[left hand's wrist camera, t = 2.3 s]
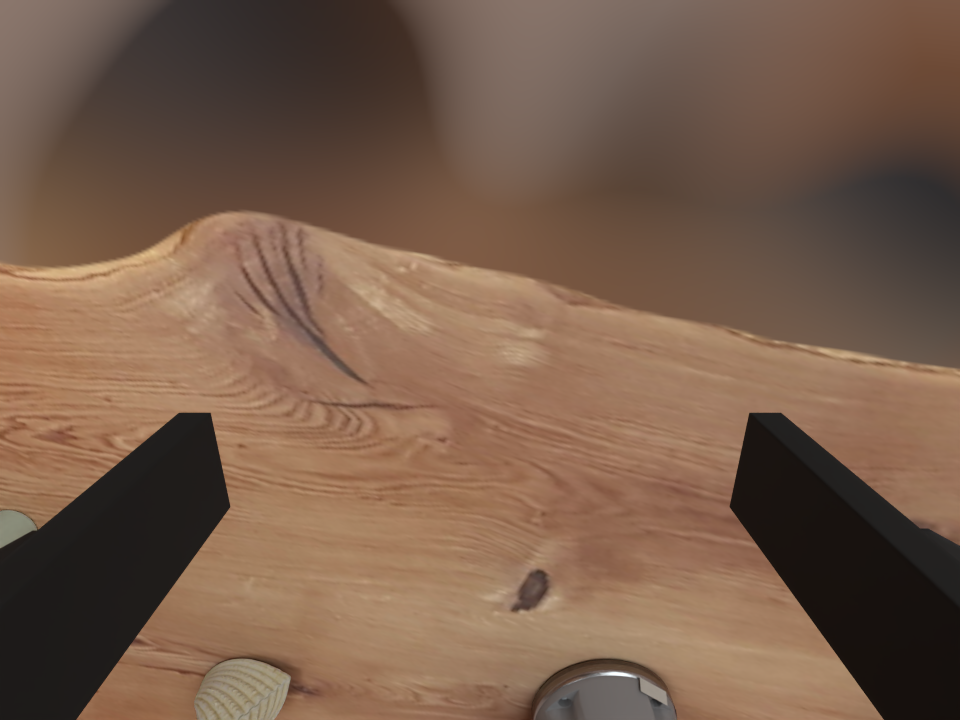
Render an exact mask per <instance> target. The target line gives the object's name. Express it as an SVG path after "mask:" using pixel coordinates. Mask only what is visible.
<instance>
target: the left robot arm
mask: <svg viewBox="0 0 960 720" xmlns="http://www.w3.org/2000/svg"><path fill="white" fill-rule="evenodd" d="M229 508H230V503H229V498H228V493H227V488H226V484H225V479H224V474H223V470H222V465H221V460H220V455H219V451H218V446H217V441H216V436H215V432H214V427H213V422H212V417H211V413H178V414H177V415H176V416H175V417H174V418H172V419H171V420H170V421H169V422H168V423H166V424H165V425H164V426H163V427H162V428H160V429H159V430H158V431H157V432H155V433H154V434H153V435H152V436H151V437H149V438H148V439H147V440H146V441H145V442H143V443H142V444H141V445H140V446H139V447H137V448H136V449H135V450H134V451H133V452H131V453H130V454H129V455H128V456H127V457H125V458H124V459H123V460H122V461H121V462H119V463H118V464H117V465H116V466H115V467H113V468H112V469H111V470H110V471H109V472H107V473H106V474H105V475H104V476H103V477H101V478H100V479H99V480H98V481H97V482H95V483H94V484H93V485H92V486H91V487H89V488H88V489H87V490H86V491H85V492H83V493H82V494H81V495H80V496H79V497H77V498H76V499H75V500H74V501H73V502H71V503H70V504H69V505H68V506H67V507H65V508H64V509H63V510H62V511H61V512H59V513H58V514H57V515H56V516H54V517H53V518H52V519H51V520H50V521H48V522H47V523H46V524H45V525H44V526H42V527H41V528H40V529H39V530H32V531H31V532H29V533H27V534H25V535H23V536H22V537H20V538H18V539H16V540H14V541H13V542H11V543H9V544H7V545H5V546H3V547H2V548H0V720H76V719H77V718H78V716H79V715H80V713H81V712H82V711H83V709H84V708H85V707H86V705H87V704H88V702H89V701H90V700H91V698H92V697H93V696H94V694H95V693H96V691H97V690H98V689H99V687H100V686H101V685H102V683H103V682H104V680H105V679H106V678H107V676H108V675H109V674H110V672H111V671H112V669H113V668H114V667H115V665H116V664H117V662H118V661H119V660H120V658H121V657H122V656H123V654H124V653H125V651H126V650H127V649H128V647H129V646H130V645H131V643H132V642H133V640H134V639H135V638H136V636H137V635H138V634H139V632H140V631H141V629H142V628H143V627H144V625H145V624H146V622H147V621H148V620H149V618H150V617H151V616H152V614H153V613H154V611H155V610H156V609H157V607H158V606H159V605H160V603H161V602H162V600H163V599H164V598H165V596H166V595H167V594H168V592H169V591H170V589H171V588H172V587H173V585H174V584H175V582H176V581H177V580H178V578H179V577H180V576H181V574H182V573H183V571H184V570H185V569H186V567H187V566H188V565H189V563H190V562H191V560H192V559H193V558H194V556H195V555H196V554H197V552H198V551H199V549H200V548H201V547H202V545H203V544H204V543H205V541H206V540H207V538H208V537H209V536H210V534H211V533H212V531H213V530H214V529H215V527H216V526H217V525H218V523H219V522H220V520H221V519H222V518H223V516H224V515H225V514H226V512H227V511H228V509H229ZM730 508H731V509H732V511H733V512H734V514H735V515H736V516H737V518H738V519H739V520H740V522H741V523H742V525H743V526H744V527H745V529H746V530H747V531H748V533H749V534H750V536H751V537H752V538H753V540H754V541H755V543H756V544H757V545H758V547H759V548H760V549H761V551H762V552H763V554H764V555H765V556H766V558H767V559H768V560H769V562H770V563H771V565H772V566H773V567H774V569H775V570H776V571H777V573H778V574H779V576H780V577H781V578H782V580H783V581H784V582H785V584H786V585H787V587H788V588H789V589H790V591H791V592H792V594H793V595H794V596H795V598H796V599H797V600H798V602H799V603H800V605H801V606H802V607H803V609H804V610H805V611H806V613H807V614H808V616H809V617H810V618H811V620H812V621H813V622H814V624H815V625H816V627H817V628H818V629H819V631H820V632H821V634H822V635H823V636H824V638H825V639H826V640H827V642H828V643H829V645H830V646H831V647H832V649H833V650H834V651H835V653H836V654H837V656H838V657H839V658H840V660H841V661H842V662H843V664H844V665H845V667H846V668H847V669H848V671H849V672H850V674H851V675H852V676H853V678H854V679H855V680H856V682H857V683H858V685H859V686H860V687H861V689H862V690H863V691H864V693H865V694H866V696H867V697H868V698H869V700H870V701H871V702H872V704H873V705H874V707H875V708H876V709H877V711H878V712H879V713H880V715H881V716H882V718H883V719H884V720H960V546H959V545H957V544H955V543H953V542H952V541H950V540H948V539H946V538H944V537H942V536H941V535H939V534H937V533H935V532H933V531H931V530H930V529H920V528H919V527H918V526H916V525H915V524H914V523H913V522H912V521H910V520H909V519H908V518H907V517H906V516H904V515H903V514H902V513H901V512H899V511H898V510H897V509H896V508H895V507H893V506H892V505H891V504H890V503H889V502H887V501H886V500H885V499H884V498H883V497H881V496H880V495H879V494H878V493H877V492H875V491H874V490H873V489H872V488H871V487H869V486H868V485H867V484H866V483H865V482H863V481H862V480H861V479H860V478H859V477H857V476H856V475H855V474H854V473H853V472H851V471H850V470H849V469H848V468H847V467H845V466H844V465H843V464H842V463H841V462H839V461H838V460H837V459H836V458H835V457H833V456H832V455H831V454H830V453H829V452H827V451H826V450H825V449H824V448H823V447H821V446H820V445H819V444H818V443H817V442H815V441H814V440H813V439H812V438H811V437H809V436H808V435H807V434H806V433H805V432H803V431H802V430H801V429H800V428H798V427H797V426H796V425H795V424H794V423H792V422H791V421H790V420H789V419H788V418H786V417H785V416H784V415H783V414H782V413H749V417H748V422H747V427H746V432H745V436H744V441H743V446H742V451H741V455H740V460H739V465H738V470H737V474H736V479H735V484H734V488H733V493H732V498H731V503H730ZM532 719H533V720H677V715H676V710H675V707H674V704H673V701H672V698H671V696H670V693H669V690H668V688H667V686H666V685H665V683H664V682H663V681H662V680H661V679H660V678H659V677H658V676H657V675H656V674H655V673H653V672H652V671H650V670H648V669H647V668H645V667H642V666H640V665H637V664H634V663H631V662H626V661H620V660H595V661H588V662H584V663H580V664H577V665H574V666H571V667H569V668H566V669H564V670H562V671H560V672H559V673H557V674H555V675H554V676H553V677H551V678H550V679H549V680H548V681H547V682H545V684H544V685H543V686H542V687H541V688H540V690H539V691H538V693H537V694H536V696H535V699H534V701H533V705H532Z"/></svg>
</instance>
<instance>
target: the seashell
mask: <svg viewBox="0 0 960 720" xmlns="http://www.w3.org/2000/svg"><path fill="white" fill-rule="evenodd" d="M290 680H291V676H290V675H288V674H287V673H285V672H283V671H281V670H280V669H278V668H275V667H273V666H271V665H269V664H266V663H263V662H260V661H256V660H252V659H232V660H228V661H225V662H222V663H220V664H218V665H216V666H215V667H214V668H212V669H211V670H210V671H209V672H208V673H207V674H206V676H205V677H204V679H203V681H202V683H201V686H200V688H199V691H198V693H197V695H196V697H195V701H194V707H195V709H196V714H197V720H274V719H275V718H276V716H277V715H278V713H279V712H280V710H281V708H282V706H283V704H284V702H285V699H286V696H287V693H288V688H289V684H290Z"/></svg>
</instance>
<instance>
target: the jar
mask: <svg viewBox="0 0 960 720" xmlns="http://www.w3.org/2000/svg"><path fill="white" fill-rule="evenodd" d="M32 530H37V527H36V525H35V524H34V522H33V521H32V520H31V519H30V518H28V517H27V516H26V515H24V514H22V513H20V512H17V511H13V510H3V511H0V548H2V547H3V546H5V545H7V544H9V543H11V542H13V541H14V540H16V539H18V538H20V537H22V536H23V535H25V534H27V533H29V532H31V531H32Z"/></svg>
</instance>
